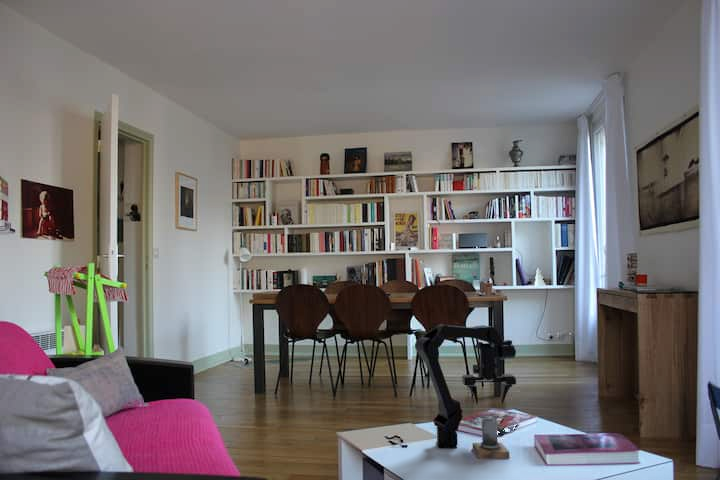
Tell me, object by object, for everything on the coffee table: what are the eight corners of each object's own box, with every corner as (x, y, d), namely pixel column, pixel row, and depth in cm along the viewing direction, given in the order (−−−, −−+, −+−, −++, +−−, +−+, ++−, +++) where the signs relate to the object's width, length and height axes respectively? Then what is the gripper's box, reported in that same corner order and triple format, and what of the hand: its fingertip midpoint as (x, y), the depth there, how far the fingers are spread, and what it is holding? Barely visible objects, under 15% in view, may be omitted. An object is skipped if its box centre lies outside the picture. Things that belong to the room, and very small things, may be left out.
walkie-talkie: (506, 438, 203) (521, 425, 220) (506, 426, 203) (521, 414, 220) (483, 435, 208) (500, 422, 225) (483, 423, 208) (499, 411, 225)
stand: (479, 458, 181) (478, 452, 181) (472, 448, 191) (472, 442, 191) (509, 458, 181) (509, 451, 182) (501, 448, 191) (501, 442, 192)
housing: (483, 450, 183) (482, 419, 184) (478, 444, 190) (478, 414, 190) (501, 449, 183) (500, 419, 184) (496, 443, 190) (496, 414, 190)
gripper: (507, 356, 211) (508, 398, 210) (458, 357, 210) (459, 399, 209) (515, 361, 199) (517, 405, 199) (464, 362, 199) (465, 406, 198)
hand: (489, 403), depth 202 cm, fingers open, 9 cm apart
